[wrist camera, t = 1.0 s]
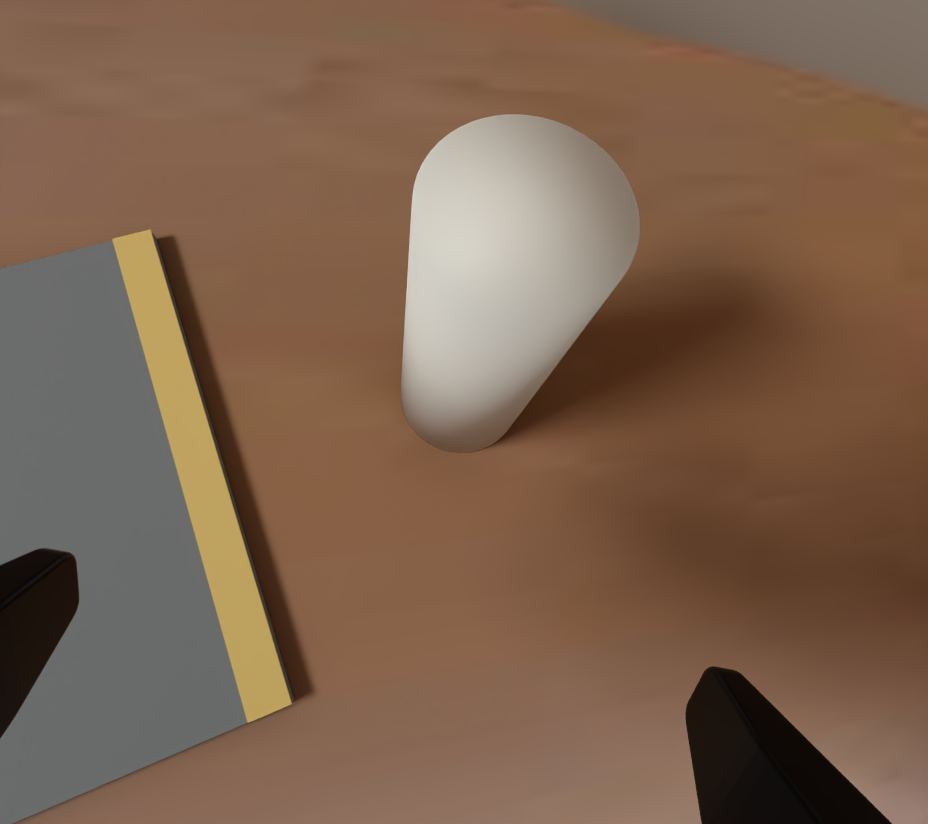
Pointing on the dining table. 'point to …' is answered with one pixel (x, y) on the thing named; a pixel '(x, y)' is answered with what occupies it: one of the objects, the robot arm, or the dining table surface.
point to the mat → (121, 528)
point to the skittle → (505, 270)
